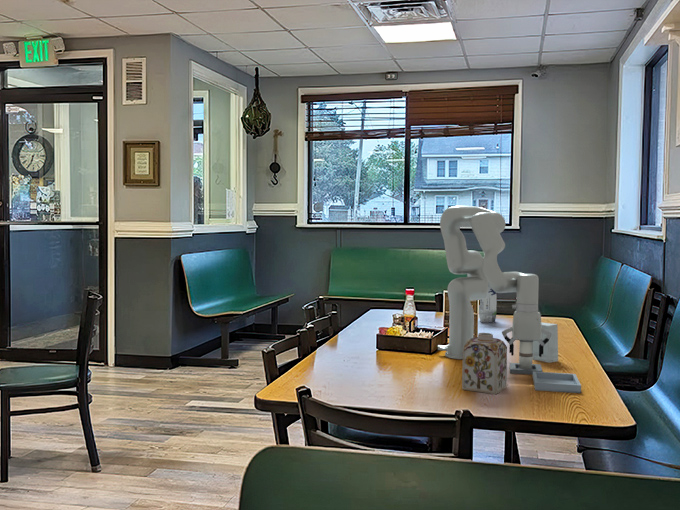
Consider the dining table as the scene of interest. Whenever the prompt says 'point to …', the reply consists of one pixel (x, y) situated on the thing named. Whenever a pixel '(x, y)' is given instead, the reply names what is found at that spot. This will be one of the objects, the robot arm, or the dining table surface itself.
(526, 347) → the cylinder
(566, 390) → the tray
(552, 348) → the skincare box
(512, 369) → the socket
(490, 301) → the juice carton
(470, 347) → the decorative jar
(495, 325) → the dining table surface
